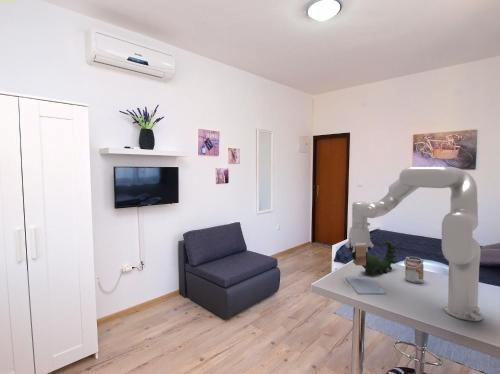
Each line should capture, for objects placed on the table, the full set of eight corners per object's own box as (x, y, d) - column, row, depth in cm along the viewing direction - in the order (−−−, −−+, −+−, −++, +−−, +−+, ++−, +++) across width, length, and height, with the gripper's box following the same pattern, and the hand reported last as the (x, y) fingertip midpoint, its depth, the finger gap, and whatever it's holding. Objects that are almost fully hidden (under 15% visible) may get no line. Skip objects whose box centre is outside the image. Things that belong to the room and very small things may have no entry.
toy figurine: (384, 269, 165) (353, 272, 155) (386, 238, 165) (355, 239, 155) (398, 274, 156) (366, 278, 146) (400, 242, 156) (368, 243, 146)
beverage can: (419, 286, 136) (419, 262, 136) (401, 281, 143) (401, 258, 142) (426, 281, 142) (426, 258, 142) (408, 276, 149) (408, 255, 148)
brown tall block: (365, 265, 141) (366, 242, 141) (356, 265, 142) (356, 242, 141) (362, 262, 146) (362, 240, 146) (352, 262, 147) (353, 240, 146)
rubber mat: (386, 294, 128) (386, 292, 128) (358, 294, 128) (358, 293, 128) (369, 278, 148) (369, 276, 148) (345, 278, 148) (345, 277, 148)
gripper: (373, 223, 146) (372, 256, 147) (341, 223, 147) (341, 256, 148) (379, 226, 139) (378, 261, 140) (345, 226, 139) (345, 261, 140)
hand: (359, 258), depth 144 cm, fingers closed on brown tall block, 5 cm apart
